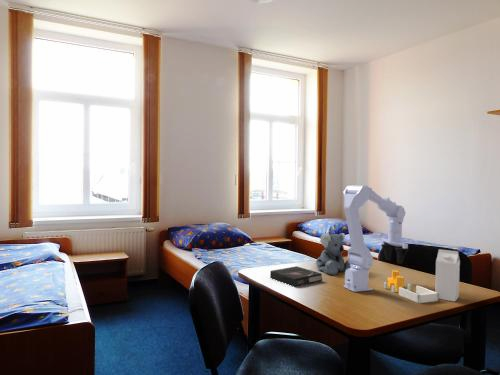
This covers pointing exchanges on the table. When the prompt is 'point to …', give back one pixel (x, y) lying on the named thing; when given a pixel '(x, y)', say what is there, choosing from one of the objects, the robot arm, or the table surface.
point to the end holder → (424, 295)
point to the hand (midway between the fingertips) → (393, 261)
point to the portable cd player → (296, 276)
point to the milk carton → (447, 275)
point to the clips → (407, 287)
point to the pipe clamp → (396, 280)
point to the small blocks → (385, 285)
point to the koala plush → (332, 254)
